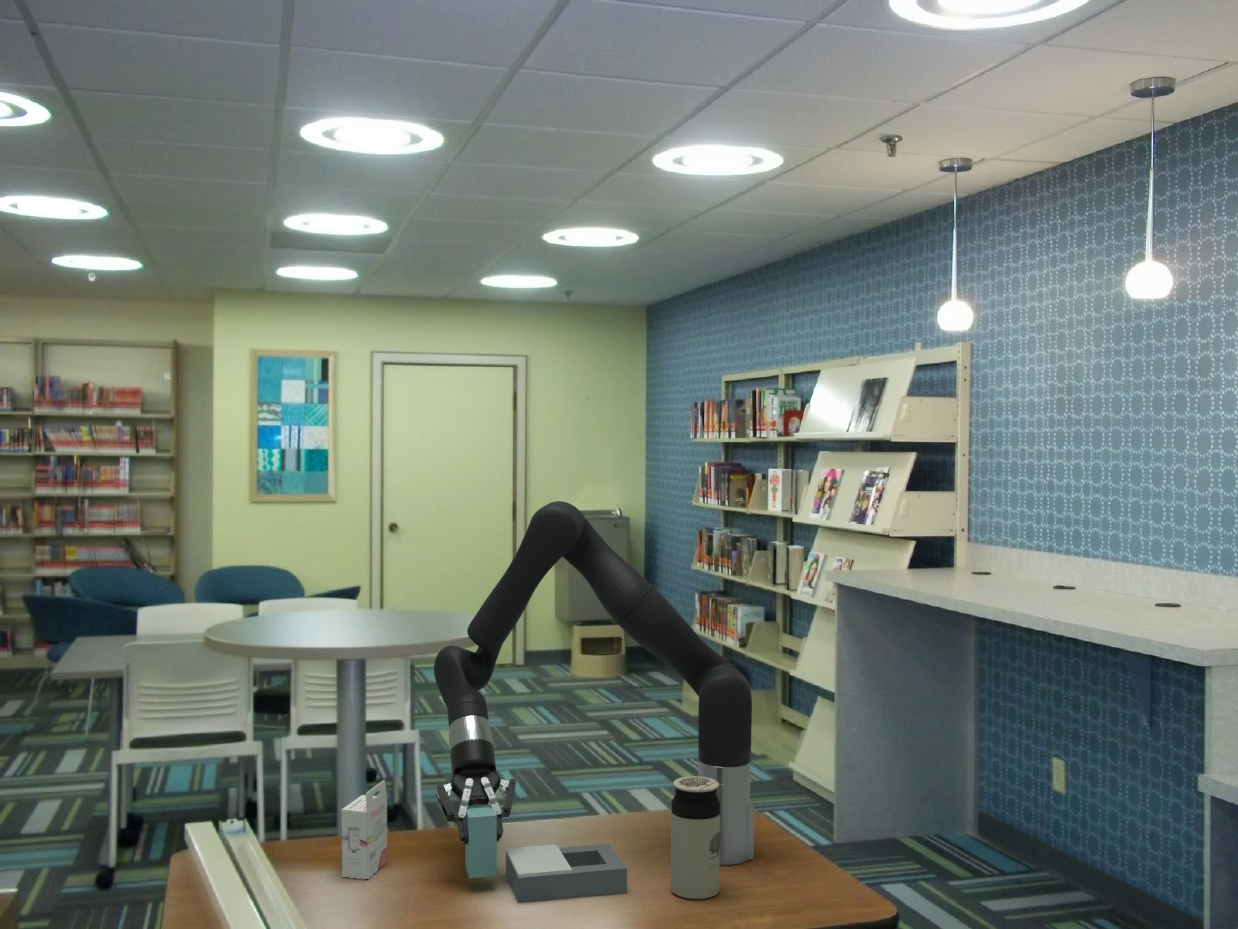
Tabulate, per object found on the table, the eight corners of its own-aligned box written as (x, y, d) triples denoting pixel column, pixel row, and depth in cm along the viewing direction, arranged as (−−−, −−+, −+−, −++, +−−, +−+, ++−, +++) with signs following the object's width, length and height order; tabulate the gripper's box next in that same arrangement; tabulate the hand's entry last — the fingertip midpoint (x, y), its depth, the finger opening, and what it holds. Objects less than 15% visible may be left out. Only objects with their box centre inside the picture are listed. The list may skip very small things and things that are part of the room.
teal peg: (492, 866, 201) (492, 807, 201) (496, 876, 197) (496, 815, 197) (465, 868, 200) (465, 809, 200) (469, 878, 196) (469, 817, 196)
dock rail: (608, 866, 208) (608, 840, 208) (627, 892, 197) (627, 864, 197) (505, 875, 204) (505, 848, 204) (518, 902, 192) (518, 874, 192)
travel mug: (660, 891, 197) (661, 782, 197) (691, 878, 203) (692, 772, 203) (698, 905, 192) (699, 793, 192) (728, 891, 198) (730, 782, 197)
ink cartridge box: (361, 860, 210) (361, 777, 210) (387, 862, 209) (388, 778, 209) (340, 878, 202) (340, 791, 201) (367, 881, 201) (368, 793, 200)
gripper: (431, 740, 204) (440, 834, 193) (515, 734, 208) (528, 826, 196) (428, 762, 209) (436, 855, 198) (509, 757, 213) (522, 847, 202)
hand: (482, 840), depth 197 cm, fingers closed on teal peg, 4 cm apart
